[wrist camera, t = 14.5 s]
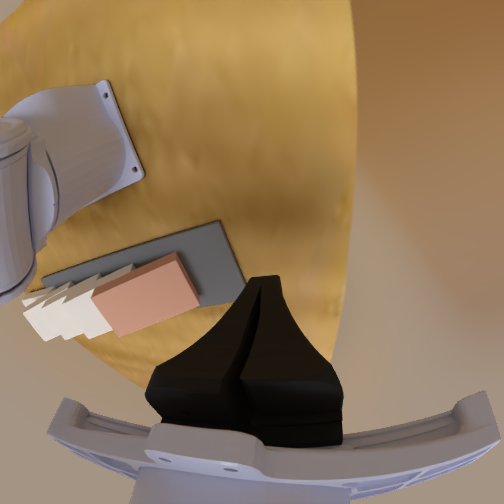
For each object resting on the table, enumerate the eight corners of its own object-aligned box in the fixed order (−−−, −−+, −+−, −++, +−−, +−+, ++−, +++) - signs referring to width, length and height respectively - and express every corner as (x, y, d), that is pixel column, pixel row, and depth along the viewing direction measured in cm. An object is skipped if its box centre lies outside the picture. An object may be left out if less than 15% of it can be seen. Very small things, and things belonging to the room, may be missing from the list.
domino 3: (99, 272, 27) (46, 300, 26) (95, 280, 25) (40, 308, 24) (122, 308, 29) (69, 331, 28) (120, 317, 27) (65, 340, 27)
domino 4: (132, 263, 25) (66, 295, 25) (130, 271, 24) (61, 304, 23) (156, 302, 28) (92, 329, 27) (155, 312, 26) (88, 339, 25)
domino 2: (71, 280, 28) (27, 305, 27) (67, 287, 26) (22, 313, 25) (93, 312, 30) (48, 333, 29) (90, 320, 29) (45, 341, 28)
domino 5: (175, 251, 24) (94, 288, 23) (175, 260, 22) (90, 298, 22) (198, 295, 26) (121, 326, 26) (200, 305, 25) (119, 337, 24)
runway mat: (42, 277, 29) (40, 279, 29) (219, 220, 22) (218, 222, 22) (73, 322, 33) (72, 324, 33) (251, 295, 26) (250, 298, 26)
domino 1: (54, 285, 29) (28, 293, 31) (46, 294, 27) (21, 300, 30) (74, 315, 31) (45, 318, 34) (68, 324, 30) (39, 326, 32)
